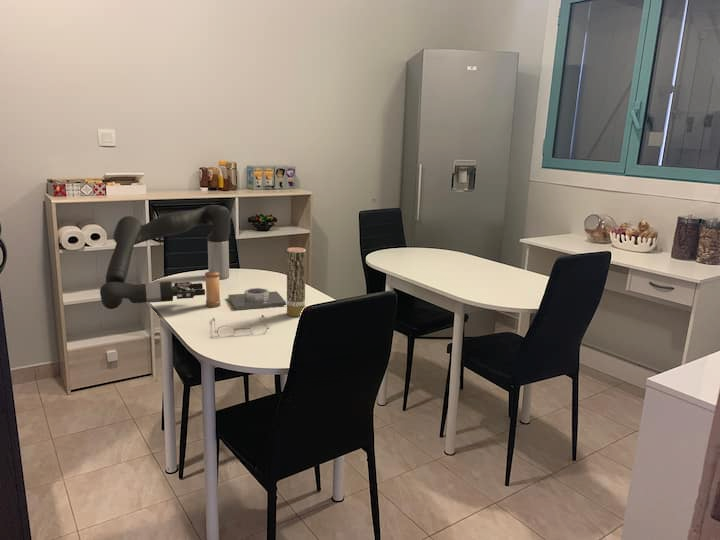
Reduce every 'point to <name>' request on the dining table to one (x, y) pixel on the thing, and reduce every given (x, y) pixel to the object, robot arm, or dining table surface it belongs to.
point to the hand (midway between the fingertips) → (203, 288)
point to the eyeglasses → (241, 328)
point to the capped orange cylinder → (212, 289)
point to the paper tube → (295, 280)
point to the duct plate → (256, 299)
